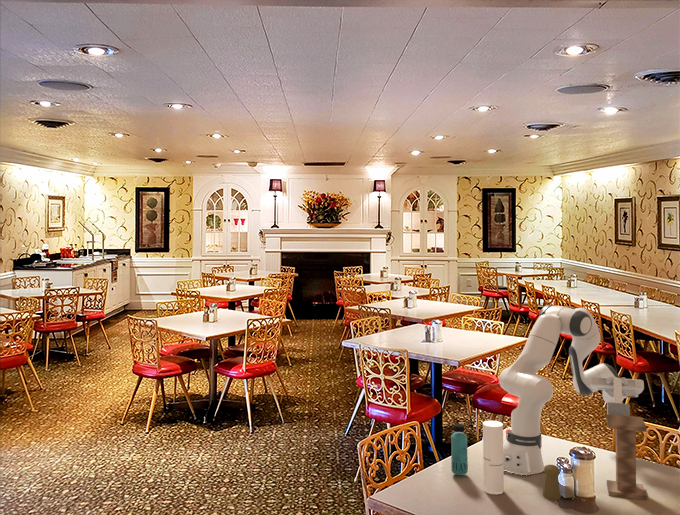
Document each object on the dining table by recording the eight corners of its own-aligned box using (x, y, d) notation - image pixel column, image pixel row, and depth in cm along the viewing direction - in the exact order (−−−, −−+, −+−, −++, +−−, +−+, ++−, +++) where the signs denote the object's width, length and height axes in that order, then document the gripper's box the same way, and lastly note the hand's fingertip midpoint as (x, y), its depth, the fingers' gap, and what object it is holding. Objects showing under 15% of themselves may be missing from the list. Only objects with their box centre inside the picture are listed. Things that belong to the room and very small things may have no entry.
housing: (607, 422, 231) (608, 422, 228) (606, 377, 235) (606, 377, 232) (629, 424, 228) (630, 424, 225) (627, 378, 232) (628, 378, 229)
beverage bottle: (449, 477, 221) (448, 426, 221) (453, 471, 227) (452, 421, 227) (466, 479, 219) (465, 428, 218) (469, 473, 225) (468, 423, 224)
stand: (609, 496, 202) (608, 424, 201) (606, 482, 213) (605, 414, 213) (647, 501, 198) (646, 427, 197) (642, 487, 209) (641, 417, 208)
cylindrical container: (490, 485, 214) (489, 419, 213) (507, 490, 209) (506, 423, 208) (480, 491, 209) (478, 423, 208) (497, 497, 204) (496, 428, 203)
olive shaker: (562, 500, 200) (562, 469, 200) (544, 499, 201) (543, 468, 201) (559, 493, 206) (559, 463, 205) (541, 492, 207) (541, 462, 207)
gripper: (588, 379, 247) (589, 369, 236) (640, 382, 240) (644, 372, 229) (588, 393, 245) (589, 384, 233) (642, 397, 237) (646, 388, 226)
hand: (617, 378), depth 231 cm, fingers closed on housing, 3 cm apart
